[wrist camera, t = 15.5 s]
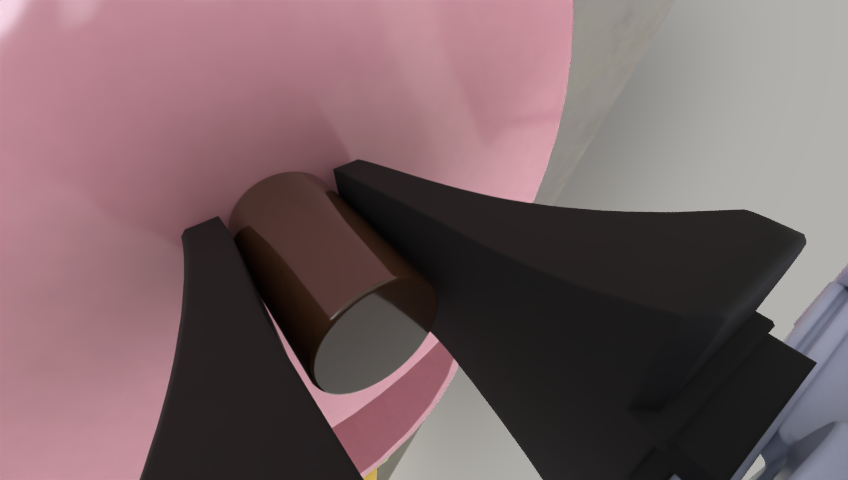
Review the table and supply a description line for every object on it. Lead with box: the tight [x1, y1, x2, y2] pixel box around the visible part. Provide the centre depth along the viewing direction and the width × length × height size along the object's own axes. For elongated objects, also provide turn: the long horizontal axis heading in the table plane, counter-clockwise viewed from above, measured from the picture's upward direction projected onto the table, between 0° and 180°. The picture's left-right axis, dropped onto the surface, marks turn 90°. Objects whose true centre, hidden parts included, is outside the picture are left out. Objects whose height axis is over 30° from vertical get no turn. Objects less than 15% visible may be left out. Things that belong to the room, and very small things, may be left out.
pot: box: [332, 342, 459, 478], centre depth 23 cm, size 17×17×5 cm
